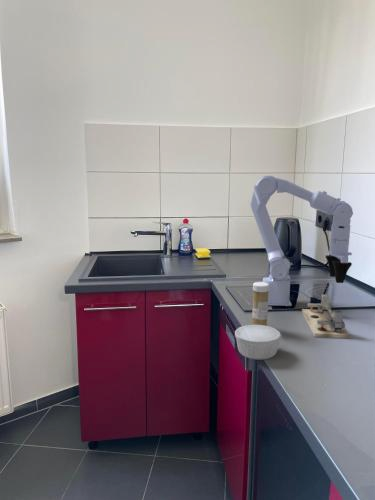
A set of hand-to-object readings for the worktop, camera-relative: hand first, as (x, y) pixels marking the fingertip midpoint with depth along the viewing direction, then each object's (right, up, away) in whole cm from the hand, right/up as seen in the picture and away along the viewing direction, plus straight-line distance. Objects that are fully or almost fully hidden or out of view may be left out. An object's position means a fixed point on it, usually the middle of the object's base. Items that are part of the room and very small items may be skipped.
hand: (336, 279), depth 130 cm
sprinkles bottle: (-28, -13, -15) cm, 35 cm away
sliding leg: (-8, -10, -5) cm, 13 cm away
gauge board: (-9, -12, -13) cm, 20 cm away
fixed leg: (-9, -12, -20) cm, 25 cm away
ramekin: (-32, -16, -31) cm, 47 cm away
